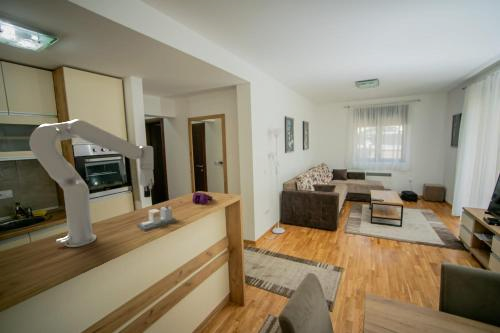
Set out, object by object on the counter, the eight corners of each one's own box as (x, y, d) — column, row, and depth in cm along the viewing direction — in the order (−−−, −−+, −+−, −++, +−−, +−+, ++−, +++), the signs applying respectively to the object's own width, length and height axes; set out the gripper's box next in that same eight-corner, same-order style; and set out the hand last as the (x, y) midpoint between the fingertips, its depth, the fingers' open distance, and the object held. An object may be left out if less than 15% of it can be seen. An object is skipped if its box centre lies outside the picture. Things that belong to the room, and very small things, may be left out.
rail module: (153, 224, 130) (152, 212, 129) (149, 222, 134) (148, 210, 133) (160, 222, 133) (160, 211, 132) (156, 220, 137) (155, 208, 137)
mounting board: (144, 231, 124) (143, 214, 123) (137, 226, 131) (136, 210, 130) (176, 221, 139) (175, 206, 138) (168, 217, 146) (168, 203, 145)
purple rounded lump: (203, 206, 190) (191, 202, 174) (205, 196, 193) (194, 192, 177) (212, 207, 187) (201, 203, 171) (214, 197, 189) (203, 193, 173)
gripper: (135, 165, 131) (136, 195, 133) (145, 168, 121) (146, 200, 123) (147, 165, 137) (148, 193, 139) (158, 167, 127) (159, 198, 129)
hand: (147, 196), depth 131 cm, fingers closed
